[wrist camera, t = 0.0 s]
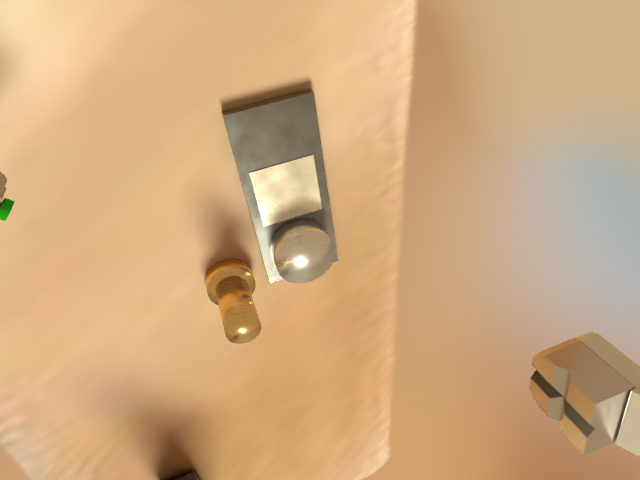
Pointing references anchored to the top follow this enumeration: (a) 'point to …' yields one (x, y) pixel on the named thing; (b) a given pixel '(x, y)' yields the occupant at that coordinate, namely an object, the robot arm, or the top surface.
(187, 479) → the handheld device
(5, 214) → the mechanical component
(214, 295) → the gold pawn piece
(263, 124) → the carrier plate
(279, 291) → the top surface
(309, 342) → the top surface
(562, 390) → the robot arm
